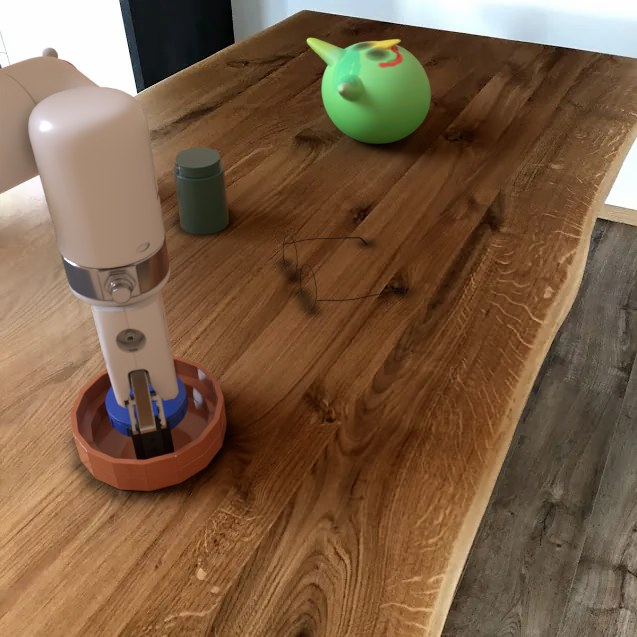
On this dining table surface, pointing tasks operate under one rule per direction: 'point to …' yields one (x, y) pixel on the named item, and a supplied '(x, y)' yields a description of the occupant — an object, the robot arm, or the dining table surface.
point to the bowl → (118, 450)
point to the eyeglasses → (313, 273)
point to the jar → (201, 190)
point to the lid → (172, 409)
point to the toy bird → (373, 89)
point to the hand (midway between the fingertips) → (150, 422)
